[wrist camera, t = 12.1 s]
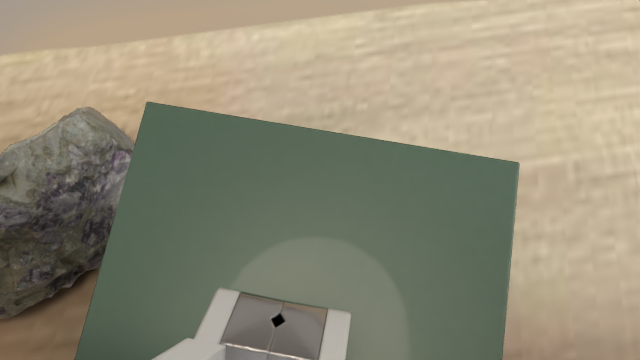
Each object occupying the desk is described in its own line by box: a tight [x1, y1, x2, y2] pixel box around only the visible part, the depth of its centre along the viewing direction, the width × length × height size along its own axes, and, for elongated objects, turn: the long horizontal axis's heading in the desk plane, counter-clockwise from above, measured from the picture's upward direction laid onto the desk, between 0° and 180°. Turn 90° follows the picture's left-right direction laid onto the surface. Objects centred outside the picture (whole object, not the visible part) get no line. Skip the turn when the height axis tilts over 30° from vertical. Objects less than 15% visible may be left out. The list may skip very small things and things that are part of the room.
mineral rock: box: [0, 107, 135, 319], centre depth 30 cm, size 13×11×10 cm
